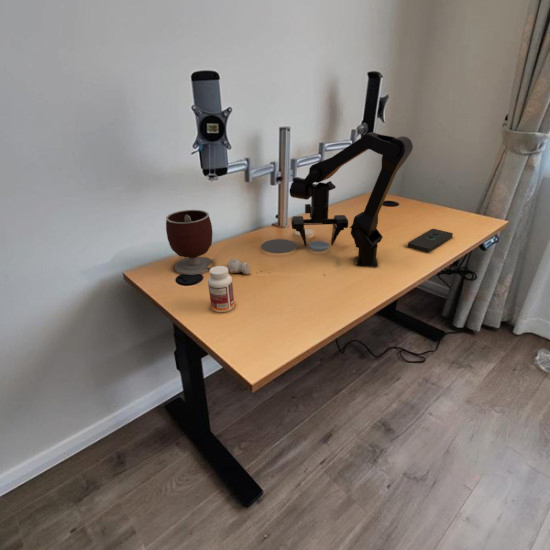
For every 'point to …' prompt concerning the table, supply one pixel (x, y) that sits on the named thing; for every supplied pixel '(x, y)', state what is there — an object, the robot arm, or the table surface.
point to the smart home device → (430, 240)
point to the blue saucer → (318, 246)
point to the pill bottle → (221, 289)
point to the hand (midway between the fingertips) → (318, 245)
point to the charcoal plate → (279, 246)
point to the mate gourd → (190, 239)
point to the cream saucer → (308, 233)
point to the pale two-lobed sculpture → (238, 266)
